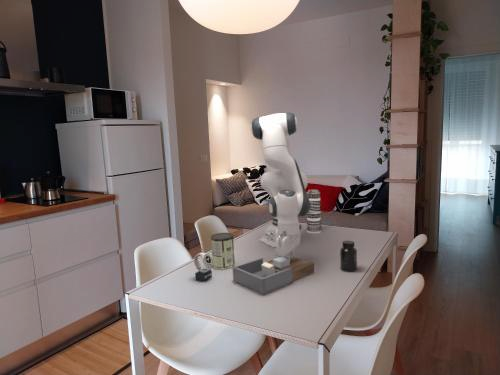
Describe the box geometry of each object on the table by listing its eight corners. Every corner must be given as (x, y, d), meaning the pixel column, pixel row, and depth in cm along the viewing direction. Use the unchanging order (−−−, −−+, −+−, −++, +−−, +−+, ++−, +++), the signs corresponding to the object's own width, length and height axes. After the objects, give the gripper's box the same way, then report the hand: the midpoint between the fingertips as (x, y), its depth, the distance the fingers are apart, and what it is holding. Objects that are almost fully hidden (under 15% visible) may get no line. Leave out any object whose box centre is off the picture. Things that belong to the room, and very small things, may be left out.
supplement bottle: (351, 265, 161) (351, 239, 159) (360, 270, 154) (360, 243, 152) (337, 267, 159) (337, 240, 157) (345, 273, 153) (345, 245, 151)
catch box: (233, 281, 149) (232, 267, 148) (262, 270, 159) (262, 257, 158) (262, 295, 135) (261, 279, 134) (292, 282, 145) (292, 268, 144)
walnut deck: (264, 271, 158) (263, 262, 158) (287, 263, 167) (286, 254, 166) (290, 281, 146) (290, 272, 145) (314, 272, 155) (313, 263, 154)
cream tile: (267, 272, 152) (263, 275, 151) (265, 262, 151) (261, 264, 150) (276, 275, 149) (271, 278, 147) (273, 265, 147) (269, 268, 146)
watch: (207, 282, 149) (206, 256, 147) (192, 279, 153) (190, 254, 151) (215, 277, 153) (214, 252, 152) (200, 274, 157) (198, 250, 156)
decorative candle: (306, 233, 214) (305, 191, 210) (306, 229, 223) (305, 189, 219) (322, 233, 212) (321, 191, 209) (321, 229, 221) (321, 188, 218)
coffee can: (219, 260, 174) (217, 231, 172) (238, 262, 170) (237, 233, 168) (208, 268, 165) (206, 237, 163) (228, 270, 161) (226, 239, 159)
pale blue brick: (272, 264, 154) (272, 259, 154) (281, 262, 157) (281, 256, 157) (280, 268, 150) (280, 262, 150) (289, 265, 153) (289, 259, 153)
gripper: (286, 236, 143) (287, 269, 145) (303, 223, 161) (303, 254, 163) (271, 234, 146) (272, 267, 148) (289, 222, 164) (290, 252, 166)
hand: (289, 260), depth 156 cm, fingers closed
